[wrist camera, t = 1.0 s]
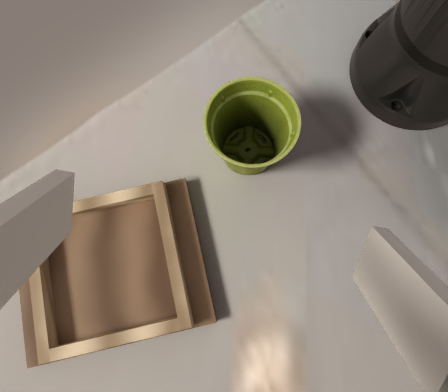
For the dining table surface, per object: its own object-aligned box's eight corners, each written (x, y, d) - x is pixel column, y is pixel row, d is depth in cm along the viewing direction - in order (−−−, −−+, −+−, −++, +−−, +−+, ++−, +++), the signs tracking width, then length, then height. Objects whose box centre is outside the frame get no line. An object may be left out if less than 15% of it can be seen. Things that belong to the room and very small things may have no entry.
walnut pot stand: (186, 181, 42) (182, 173, 38) (216, 320, 38) (215, 325, 35) (19, 220, 41) (0, 215, 38) (35, 364, 38) (15, 373, 34)
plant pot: (249, 100, 44) (252, 58, 35) (304, 152, 42) (321, 121, 33) (193, 149, 42) (183, 119, 34) (247, 205, 41) (251, 187, 32)
